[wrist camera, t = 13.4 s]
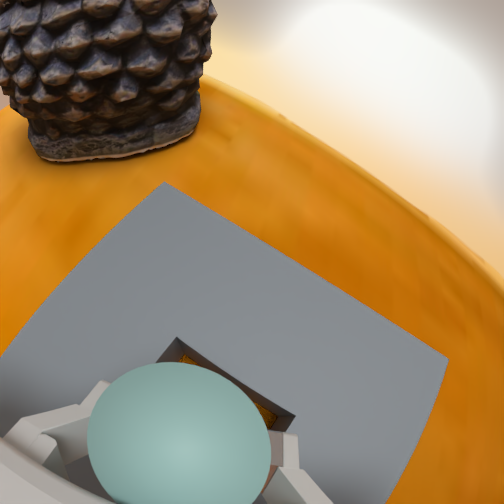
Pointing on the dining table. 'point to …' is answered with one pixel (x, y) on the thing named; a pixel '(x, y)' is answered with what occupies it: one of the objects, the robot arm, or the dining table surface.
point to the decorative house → (104, 72)
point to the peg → (178, 438)
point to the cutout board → (230, 344)
